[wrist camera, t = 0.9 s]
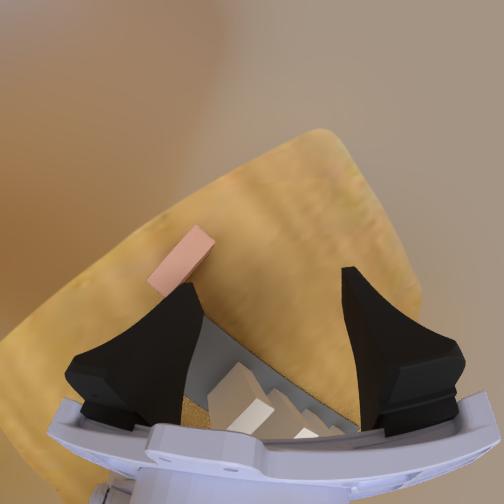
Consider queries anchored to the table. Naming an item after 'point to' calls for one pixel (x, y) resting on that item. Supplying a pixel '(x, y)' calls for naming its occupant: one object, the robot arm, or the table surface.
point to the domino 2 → (238, 402)
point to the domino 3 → (284, 420)
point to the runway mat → (231, 352)
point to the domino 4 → (317, 424)
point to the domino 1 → (181, 261)
